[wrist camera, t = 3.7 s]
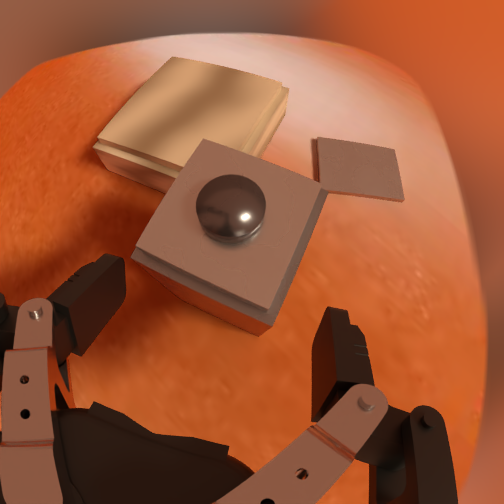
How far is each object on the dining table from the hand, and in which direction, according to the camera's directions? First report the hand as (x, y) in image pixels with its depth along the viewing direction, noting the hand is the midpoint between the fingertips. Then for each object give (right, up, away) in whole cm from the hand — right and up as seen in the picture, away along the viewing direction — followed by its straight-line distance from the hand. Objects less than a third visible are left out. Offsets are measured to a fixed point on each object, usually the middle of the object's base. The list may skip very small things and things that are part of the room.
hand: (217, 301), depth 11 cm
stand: (-3, +11, +12) cm, 16 cm away
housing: (0, 0, +8) cm, 8 cm away
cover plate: (+10, +8, +12) cm, 17 cm away
